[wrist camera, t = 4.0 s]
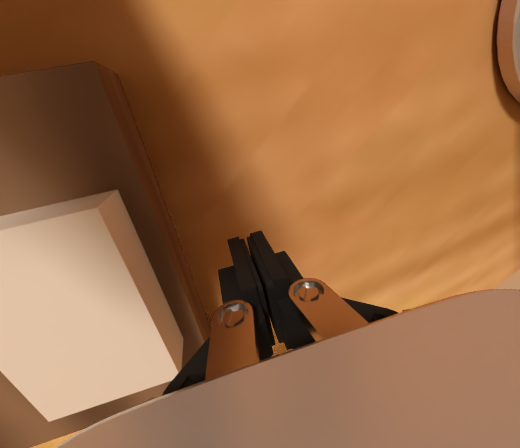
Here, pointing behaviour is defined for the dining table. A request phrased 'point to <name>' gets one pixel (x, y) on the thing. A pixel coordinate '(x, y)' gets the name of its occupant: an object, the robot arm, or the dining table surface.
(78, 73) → the plate
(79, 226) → the tile
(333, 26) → the dining table surface
